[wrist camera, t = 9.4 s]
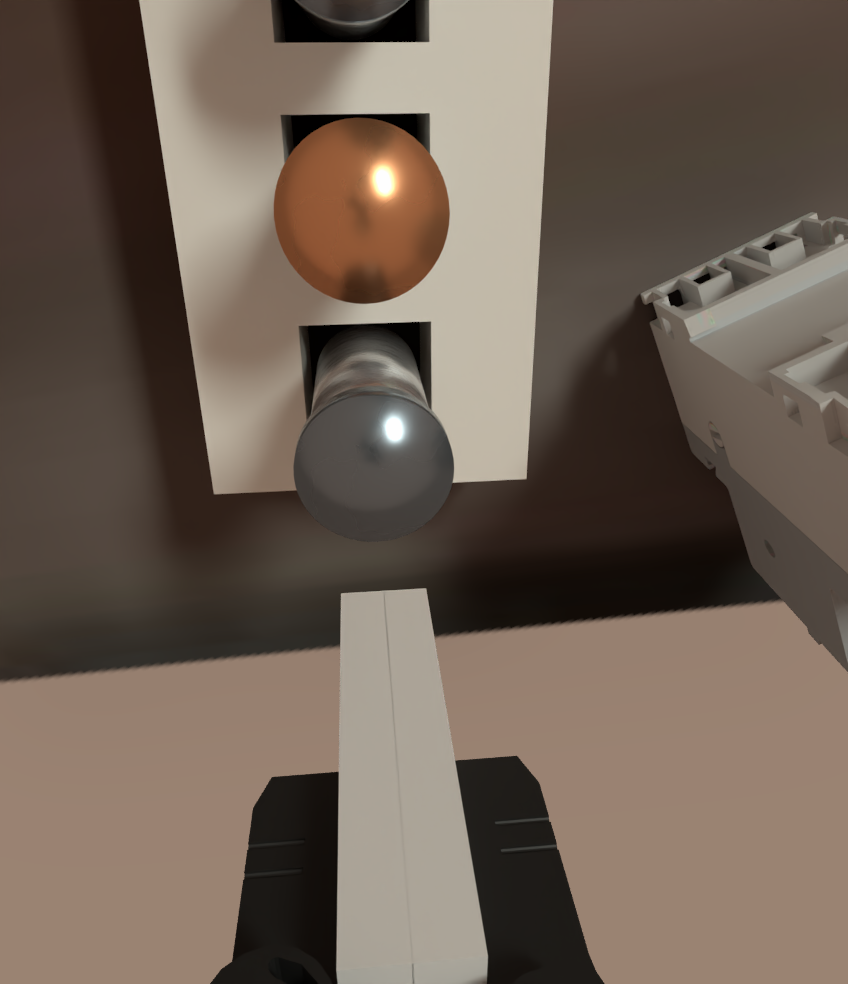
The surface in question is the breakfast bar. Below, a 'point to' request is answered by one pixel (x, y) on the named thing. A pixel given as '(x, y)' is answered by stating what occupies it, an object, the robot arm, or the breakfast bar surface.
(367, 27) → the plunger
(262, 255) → the panel
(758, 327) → the circuit breaker
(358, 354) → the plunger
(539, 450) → the breakfast bar surface
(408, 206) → the plunger mid
